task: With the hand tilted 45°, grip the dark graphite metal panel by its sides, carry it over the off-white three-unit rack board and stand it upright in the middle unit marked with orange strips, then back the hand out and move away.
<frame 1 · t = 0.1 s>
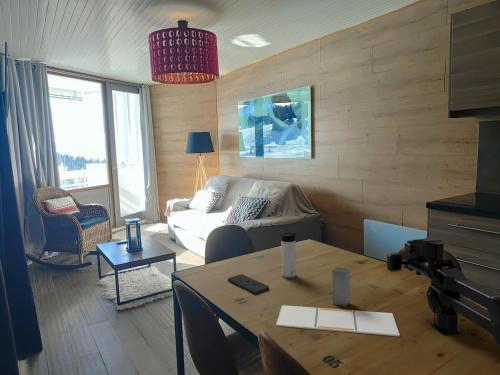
hand: (399, 253, 132), 17 cm above the table, tool horizontal, fingers open, 9 cm apart
rack board: (335, 320, 117), on the table
travel mug: (289, 276, 158), on the table
graphite panel: (341, 303, 129), on the table
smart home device: (247, 286, 150), on the table
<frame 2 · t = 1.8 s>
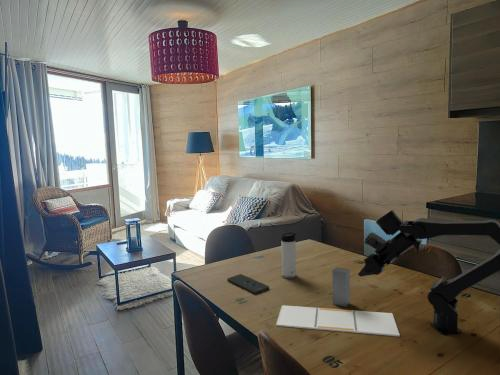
hand: (363, 271, 123), 14 cm above the table, tool tilted 45°, fingers open, 9 cm apart
nothing on the table moved.
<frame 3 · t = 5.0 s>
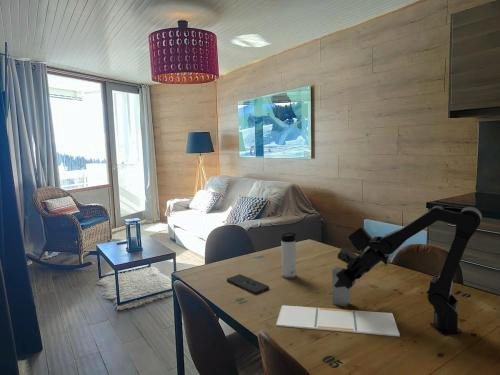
hand: (337, 284, 129), 7 cm above the table, tool tilted 45°, fingers closed on graphite panel, 4 cm apart
graphite panel: (341, 303, 129), on the table, touching gripper
everything else where it was.
when the fingers open (9 cm above the table, at t = 9.4 s): graphite panel drops 1 cm, resting on rack board.
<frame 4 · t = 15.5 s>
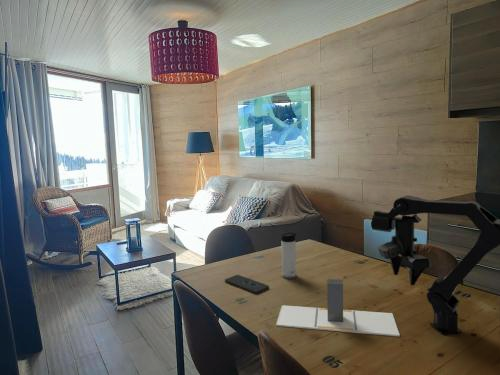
hand: (403, 279, 116), 13 cm above the table, tool pointing down, fingers open, 9 cm apart
graphite panel: (335, 318, 117), resting on rack board
at the end: graphite panel inside the target area on the rack board (0.0 cm from its centre), point 0.5 cm above the rack board's base; graphite panel tilted 0°; the gripper is holding nothing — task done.
